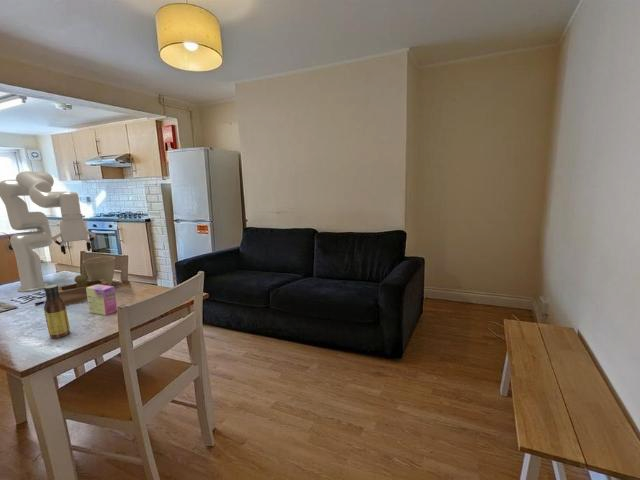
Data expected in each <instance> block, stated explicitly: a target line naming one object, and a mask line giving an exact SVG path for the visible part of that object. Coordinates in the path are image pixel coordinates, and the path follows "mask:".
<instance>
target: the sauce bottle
mask: <svg viewBox="0 0 640 480" xmlns="http://www.w3.org/2000/svg"><path fill="white" fill-rule="evenodd" d="M58 287H59V285H58V284H48V286H45V287H44V288H43V291H44V293H45V303H44V306H43V307H44V308H43V310H44V316H45V321H46V326H47V330H48V334H49V337H50V338H52V339H58V338H63V337H65V336H67V335H68V334H70V333H71V327H70V324H69V323H70V322H69V321H70V320H69V316H68V310H67V307H66V306H65V302H64V300H63V299H62V298H61V297H59V292H58Z"/></svg>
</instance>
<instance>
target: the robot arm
mask: <svg viewBox="0 0 640 480" xmlns="http://www.w3.org/2000/svg"><path fill="white" fill-rule="evenodd" d="M54 182H55V181H54V177H53V176H52V174H50V173H48V172H46V171H31V170H30V171H27V170H26V171H22V172H21V171H20V172H19V173H18V174H16V177H15V179H5V180H1V181H0V199H1V200H2V202H3V204H4V206H5V210H6V214H7V218H8V222H9V225H10V227H11V229H12V230H15V231H26V230H27V232H20V233H14V234H13V235H12V236H11V237H10V240H9V242H10V245H11V247H12V250H13V252H14V256H15V261H16V264H17V265H16V266H17V270H18V276H19V282H20V287H17V291H18V292H21V293H22V292H24V293H25V292H34V291H38V290H44V287H45V286H49V284H48V283H47V282H45V281H44V275H43V269H42V264H41V258H40V256H39V254H38V253H37V252H35V251H34V250H35V249H39V248H40V249H41V248H47V247H50V246H51V245H52V244H53V242H54V243H55V244H57V245H58V246H60V253H63V255H67V251H66V247H65V244H66V243H67V242H77V241H78V242H79V241H86V243H85V244H86V249H87V252H91V249H92V242H93V241H94V240H95V237H96V236H97V235H96V234H97V233H95V232H91V231H88V230H87V227H86V224H85V221H84V219H83V218H86V215H85V214H82V213H81V212H82V211H81V205H80V198H79V194H78V193H77V192H73V191H52V187H53V186H54V184H55V183H54ZM21 196H22V197H25V196H29V198H30V201H31V202H32V203H34V204H35V205H36V206H38V207H41V208H43V209H50V208H52V209H53V208H60V215H61V220H60V222H59V229H60V230H59V232H60V233H58V234H56V235H54V236H52V232H51V227H50V226H51V225H50V221H49V219H48V217H47V215H46V213H44V212H42V211H29V207H28V205H27V202H26V201H25V200H23V199H22V198H21ZM34 229H35V230H36V231H35V230H34ZM28 230H34V231H28ZM88 235H90V236H91V237H89V236H88ZM88 237H89V238H88ZM59 238H60V239H61V241H59V240H58V239H59Z"/></svg>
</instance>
